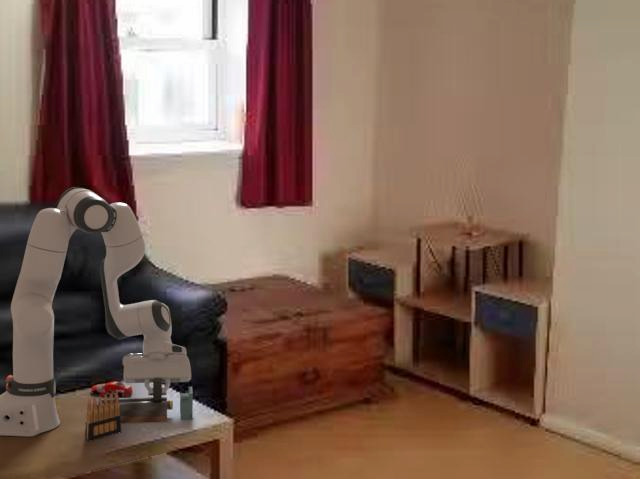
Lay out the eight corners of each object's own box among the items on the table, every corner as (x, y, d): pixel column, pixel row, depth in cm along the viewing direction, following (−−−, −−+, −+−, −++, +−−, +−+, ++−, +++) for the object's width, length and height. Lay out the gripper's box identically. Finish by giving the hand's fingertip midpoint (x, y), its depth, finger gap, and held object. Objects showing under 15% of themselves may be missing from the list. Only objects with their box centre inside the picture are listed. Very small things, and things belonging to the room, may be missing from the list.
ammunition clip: (88, 441, 274) (88, 400, 271) (85, 439, 275) (84, 398, 273) (121, 432, 281) (121, 392, 279) (117, 430, 282) (117, 390, 280)
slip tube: (118, 412, 290) (117, 381, 289) (118, 409, 293) (118, 379, 291) (172, 411, 293) (172, 380, 291) (172, 407, 296) (172, 377, 294)
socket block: (180, 419, 292) (180, 393, 291) (180, 412, 298) (180, 387, 297) (192, 418, 293) (192, 393, 291) (191, 411, 299) (191, 386, 297)
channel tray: (90, 424, 286) (90, 408, 285) (92, 413, 295) (92, 397, 294) (167, 422, 290) (167, 406, 289) (166, 411, 298) (166, 395, 297)
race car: (88, 395, 311) (88, 383, 310) (95, 390, 316) (95, 378, 315) (127, 399, 308) (127, 387, 308) (134, 393, 314) (134, 381, 313)
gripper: (122, 348, 296) (121, 390, 288) (190, 347, 299) (191, 389, 291) (122, 358, 301) (122, 400, 293) (190, 357, 304) (191, 398, 296)
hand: (157, 394), depth 292 cm, fingers closed on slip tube, 2 cm apart
